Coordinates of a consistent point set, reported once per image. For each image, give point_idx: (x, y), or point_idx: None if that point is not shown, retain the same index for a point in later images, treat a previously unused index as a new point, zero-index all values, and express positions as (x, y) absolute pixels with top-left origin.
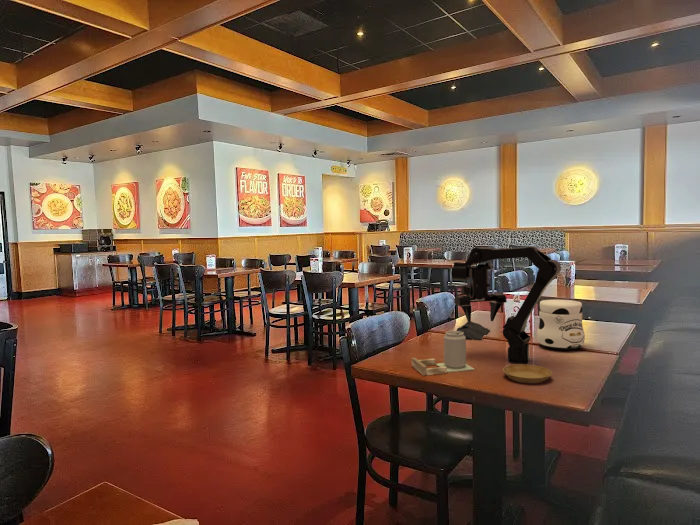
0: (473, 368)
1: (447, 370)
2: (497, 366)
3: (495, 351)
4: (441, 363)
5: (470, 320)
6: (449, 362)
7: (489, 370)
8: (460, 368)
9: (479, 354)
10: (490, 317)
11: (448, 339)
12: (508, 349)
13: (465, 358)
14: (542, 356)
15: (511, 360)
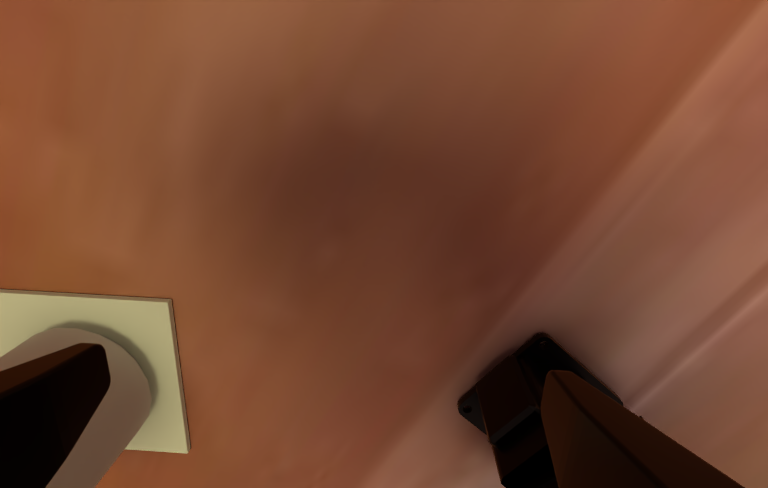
0: (185, 448)
1: None
2: (347, 438)
3: (563, 118)
4: (19, 302)
5: (75, 437)
6: None
7: (268, 477)
8: None
9: (385, 157)
10: (572, 409)
11: None
12: (488, 437)
13: (115, 460)
14: (760, 365)
15: (478, 408)
